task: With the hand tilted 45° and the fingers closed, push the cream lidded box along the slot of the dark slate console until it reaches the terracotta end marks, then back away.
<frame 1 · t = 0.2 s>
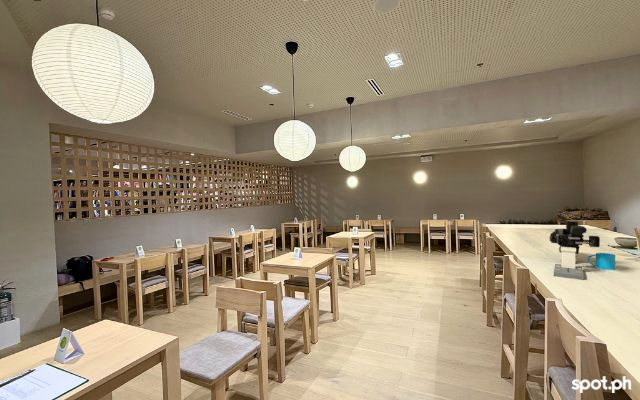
hand: (583, 243, 162), 17 cm above the table, tool horizontal, fingers open, 9 cm apart
mug: (600, 267, 173), on the table
console: (568, 273, 163), on the table
cream lidded box: (568, 257, 167), point 8 cm above the table, slide at 0.0 cm
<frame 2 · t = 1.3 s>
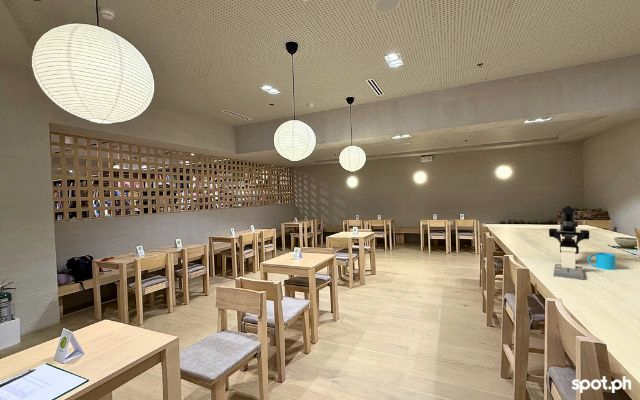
hand: (568, 244, 174), 14 cm above the table, tool tilted 45°, fingers open, 7 cm apart
nothing on the table moved.
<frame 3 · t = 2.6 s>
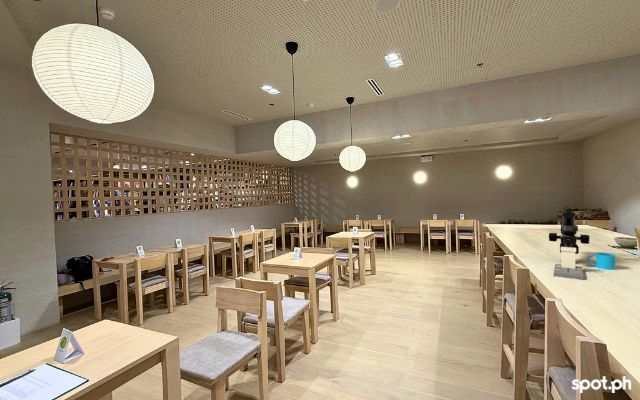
hand: (568, 249, 173), 11 cm above the table, tool tilted 45°, fingers closed
nothing on the table moved.
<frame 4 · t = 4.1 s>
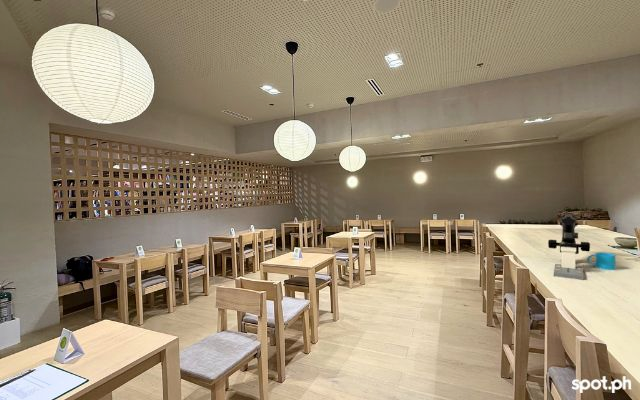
hand: (568, 257, 168), 8 cm above the table, tool tilted 45°, fingers closed, pressing on cream lidded box
cream lidded box: (568, 257, 167), point 8 cm above the table, slide at 0.0 cm, touching gripper
everything else where it was.
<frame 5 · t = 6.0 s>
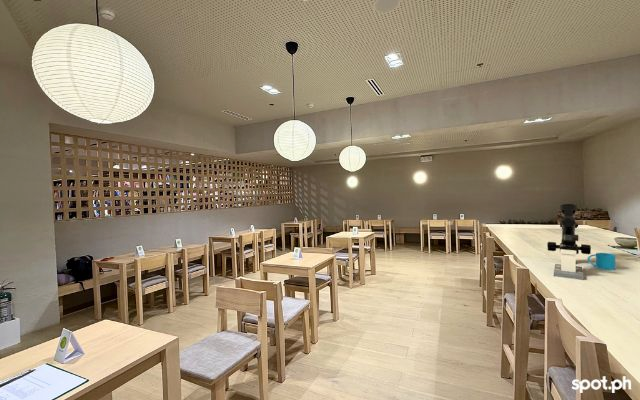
hand: (568, 260, 162), 8 cm above the table, tool tilted 45°, fingers closed, pressing on cream lidded box
cream lidded box: (568, 260, 160), point 8 cm above the table, slide at 8.7 cm, touching gripper
everything else where it was.
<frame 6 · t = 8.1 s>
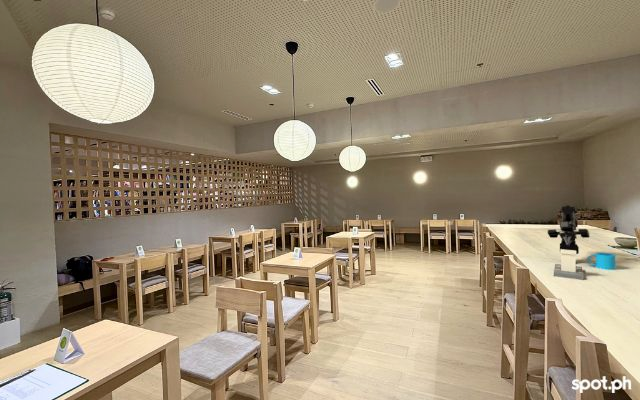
hand: (567, 245, 172), 14 cm above the table, tool tilted 40°, fingers closed
cream lidded box: (568, 260, 160), point 8 cm above the table, slide at 8.7 cm
everything else where it was.
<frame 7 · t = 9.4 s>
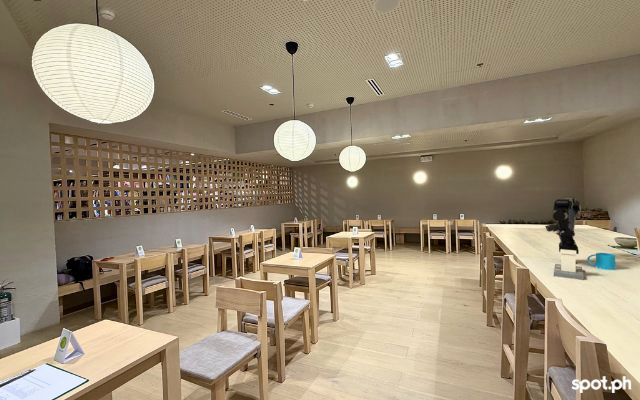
hand: (563, 245, 176), 13 cm above the table, tool pointing down, fingers closed
nothing on the table moved.
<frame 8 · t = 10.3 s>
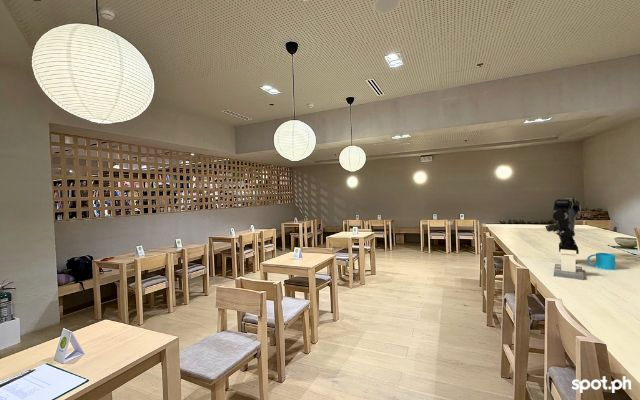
hand: (563, 245, 176), 13 cm above the table, tool pointing down, fingers closed
nothing on the table moved.
at the end: cream lidded box slide at 8.7 cm; mug moved 0.3 cm from its start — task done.
